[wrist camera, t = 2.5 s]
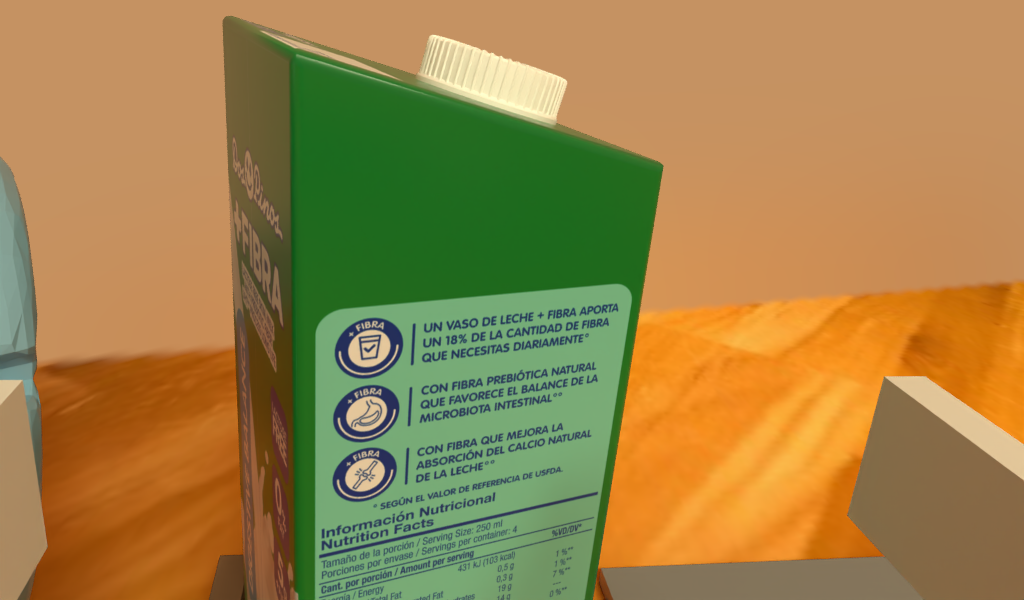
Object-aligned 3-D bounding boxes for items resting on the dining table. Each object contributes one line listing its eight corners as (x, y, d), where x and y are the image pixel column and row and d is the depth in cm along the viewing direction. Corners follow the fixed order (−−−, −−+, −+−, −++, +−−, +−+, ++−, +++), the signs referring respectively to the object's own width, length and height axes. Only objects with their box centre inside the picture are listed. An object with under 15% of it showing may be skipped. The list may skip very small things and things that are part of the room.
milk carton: (561, 808, 28) (684, 65, 19) (298, 920, 24) (290, 43, 15) (460, 626, 35) (512, 30, 26) (247, 688, 31) (221, 10, 22)
